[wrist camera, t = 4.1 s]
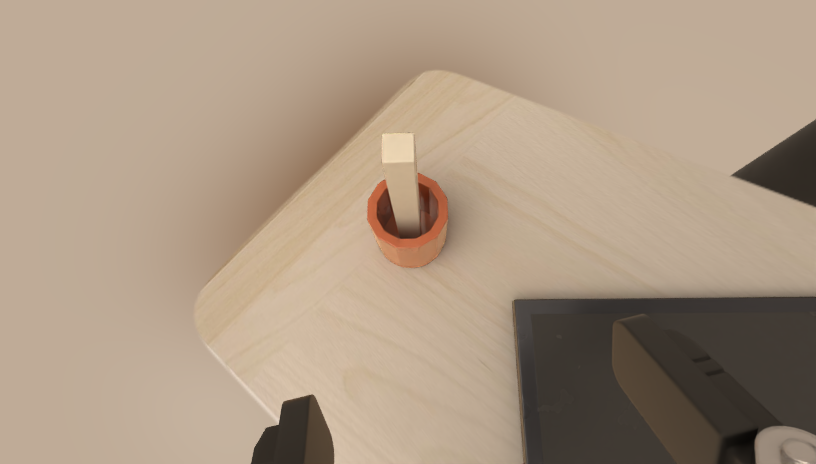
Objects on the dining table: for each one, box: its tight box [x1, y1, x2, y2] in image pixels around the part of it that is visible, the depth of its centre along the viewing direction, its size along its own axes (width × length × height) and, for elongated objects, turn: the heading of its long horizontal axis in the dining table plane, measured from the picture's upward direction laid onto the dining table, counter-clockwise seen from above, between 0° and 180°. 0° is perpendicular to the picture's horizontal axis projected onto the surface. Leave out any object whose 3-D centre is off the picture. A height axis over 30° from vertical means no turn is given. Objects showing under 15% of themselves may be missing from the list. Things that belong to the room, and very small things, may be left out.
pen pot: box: [367, 173, 448, 268], centre depth 30 cm, size 5×5×6 cm
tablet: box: [512, 297, 816, 464], centre depth 28 cm, size 22×16×1 cm
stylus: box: [381, 133, 421, 239], centre depth 26 cm, size 2×2×13 cm
